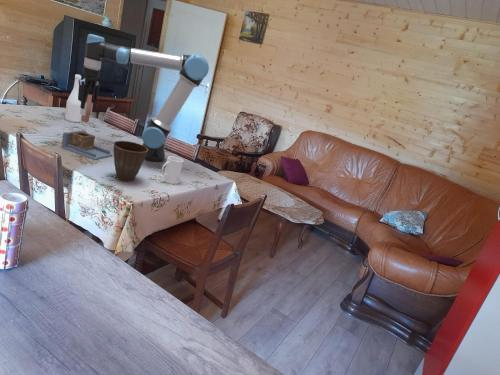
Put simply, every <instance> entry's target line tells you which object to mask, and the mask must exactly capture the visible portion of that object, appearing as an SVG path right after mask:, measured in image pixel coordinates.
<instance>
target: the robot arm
mask: <svg viewBox="0 0 500 375" xmlns="http://www.w3.org/2000/svg"><path fill="white" fill-rule="evenodd" d="M103 59H105V60H109V61H110V62H114V63H117V64H122V65H127V64H128V63H129V64H135V65H141V66H148V67H154V68H159V69H164V70H165V69H166V70H172V71H173V70H174V71H179V73H178V75H179V78H178V80H177V82H176V83H175V85H174V87H173V88H172V90H171V92H170V93H169V95H168V97H166V99H165V102H164V103H163V104H162V107H161V108H160V110H159V111H158V113H157V115H156V116H155V117H148V120H147V123H146V124H147V125H146V127H145V128H144V130H142V135H141V136H142V137H141V139H142V145H143V146H145V147H146V148H147V149H148V151H147V154H146V157H145V159H144V161H145V160H146V161H149V162H155V163H163V162H164V161H165V160H166V152H165V145H166V139H167V137H169V134H170V133H171V131H172V128H171V125H172V124H173V122H174V121H175V119H176V118H177V116H178V115H179V113H180V112H181V110H182V109H183V106H184V105H185V103H186V102H187V100H188V98H189V96H190V95H191V94H192V92H193V90H194V89H195V88H197V87H200V85H201V83H202V81H203V80H204V78H205V77H207V76H208V73H209V71H210V70H209V69H210V67H209V66H210V65H209V62H208V60H207V59H206V58H205V57H204V56H202V55H200V54H181V55H176V54H170V53H164V52H159V51H151V50H146V49H142V48H134V47H128V46H123V45H115V44H111V43H108V42H107V41H105V37H102V36H100V35H96V34H92V33H89V34H87V38H86V43H85V53H84V61H83V62H84V63H83V67H82V74H83V78H82V79H81V80H79V81H78V82H79V91H78V100H79V101H81V106H80V108H81V110H80V114H81V115H84V116H85V115H86V108H87V103H86V100H87V96H88V94H92V101H91V109H90V116H92V113H93V107H94V104H96V102H97V101H98V97H99V91H100V87H101V85H102V83H101V82H99V81H98V79H99V78H100V74H101V71H100V70H101V66H102V60H103Z"/></svg>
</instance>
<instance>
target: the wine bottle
mask: <svg viewBox="0 0 500 375" xmlns="http://www.w3.org/2000/svg"><path fill="white" fill-rule="evenodd" d="M79 80H82V75H81V74H75V75H74V84H73V89H72V90H71V92H70V94H69V95H68V98H67V100H66V104H65V105H66V106H65V114H64V119H65V121H68V122H71V123H81V122H82V121H81V117H82V115H81V114H80V110H81V108H80V106H81V101H79V100H78V91H79V82H78V81H79Z"/></svg>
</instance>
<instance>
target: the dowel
mask: <svg viewBox="0 0 500 375" xmlns="http://www.w3.org/2000/svg"><path fill="white" fill-rule="evenodd" d="M91 101H92V94H89V93H88V96H87V100H86V103H87V108H86V115H85V116H84V115H82V117H81V121H80V122H83V123H89V120H90V116H91V115H90V109H91Z"/></svg>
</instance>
